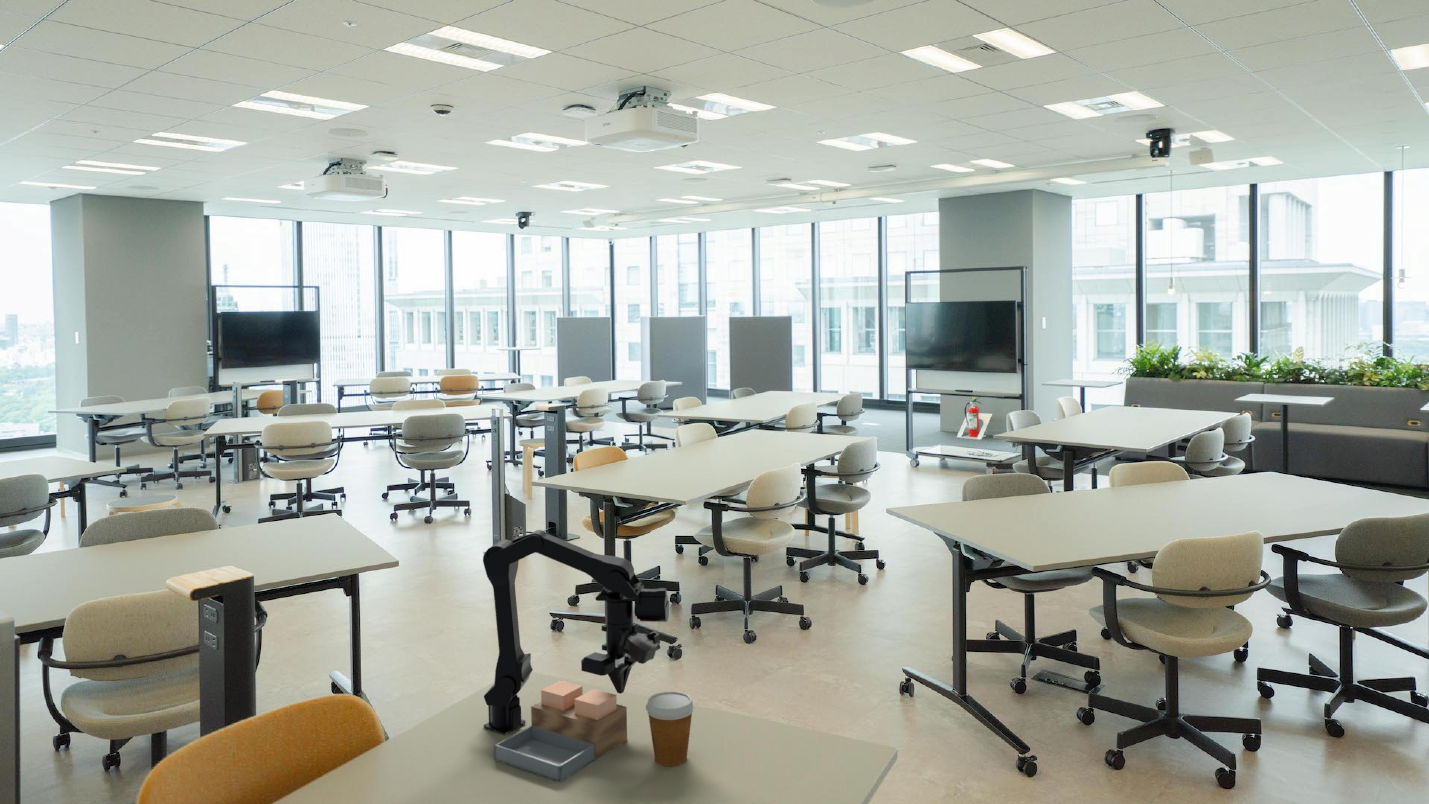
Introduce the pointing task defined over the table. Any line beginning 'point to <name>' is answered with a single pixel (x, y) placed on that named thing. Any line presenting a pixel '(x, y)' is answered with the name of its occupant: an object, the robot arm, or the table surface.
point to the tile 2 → (595, 704)
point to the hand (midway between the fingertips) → (620, 692)
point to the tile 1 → (560, 695)
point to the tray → (545, 753)
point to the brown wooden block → (583, 725)
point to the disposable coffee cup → (670, 726)
